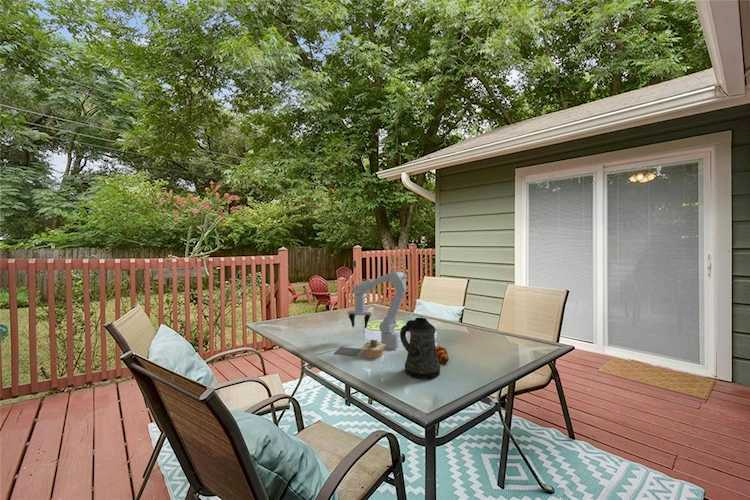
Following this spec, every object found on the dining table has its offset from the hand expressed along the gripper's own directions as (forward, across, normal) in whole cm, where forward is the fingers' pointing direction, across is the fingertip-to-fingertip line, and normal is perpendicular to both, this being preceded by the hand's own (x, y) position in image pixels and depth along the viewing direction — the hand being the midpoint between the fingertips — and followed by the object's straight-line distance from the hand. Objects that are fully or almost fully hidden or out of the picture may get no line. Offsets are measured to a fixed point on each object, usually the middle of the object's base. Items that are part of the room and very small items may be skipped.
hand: (359, 327), depth 203 cm
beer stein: (+10, +40, -36) cm, 55 cm away
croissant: (+10, +47, -13) cm, 50 cm away
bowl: (+9, +14, -20) cm, 26 cm away
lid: (+5, +14, -20) cm, 25 cm away
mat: (+9, -1, -18) cm, 20 cm away
